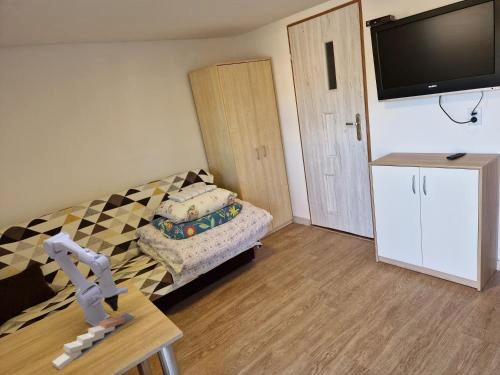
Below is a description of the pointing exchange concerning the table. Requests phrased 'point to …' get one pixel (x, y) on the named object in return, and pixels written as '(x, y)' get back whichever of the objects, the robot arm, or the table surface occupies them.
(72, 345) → the domino
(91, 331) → the domino
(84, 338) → the domino
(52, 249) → the robot arm
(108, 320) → the domino
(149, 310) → the table surface
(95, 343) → the mat
